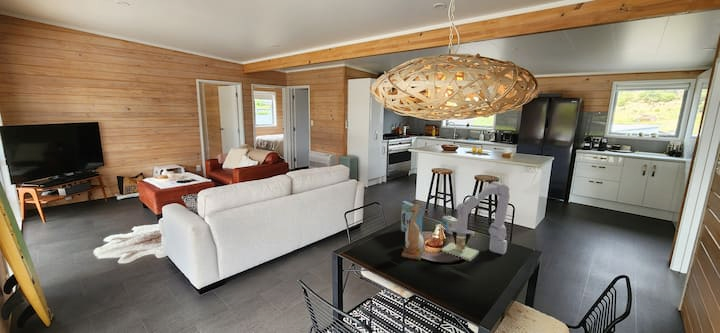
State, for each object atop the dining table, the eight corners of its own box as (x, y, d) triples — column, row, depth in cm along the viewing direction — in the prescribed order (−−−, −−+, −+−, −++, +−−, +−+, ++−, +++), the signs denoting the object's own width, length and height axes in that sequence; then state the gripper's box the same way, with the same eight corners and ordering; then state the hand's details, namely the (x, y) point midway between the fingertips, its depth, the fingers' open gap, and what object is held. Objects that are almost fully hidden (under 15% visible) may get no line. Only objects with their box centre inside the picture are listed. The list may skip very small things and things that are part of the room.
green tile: (478, 253, 181) (479, 251, 180) (470, 261, 170) (470, 258, 170) (450, 244, 192) (451, 242, 192) (440, 251, 182) (441, 249, 182)
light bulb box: (441, 230, 217) (442, 216, 215) (448, 229, 220) (449, 215, 218) (451, 235, 207) (452, 221, 206) (458, 234, 210) (459, 219, 209)
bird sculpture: (403, 249, 182) (405, 199, 177) (422, 251, 180) (425, 200, 174) (401, 257, 172) (404, 204, 166) (422, 260, 169) (425, 206, 164)
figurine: (425, 249, 184) (427, 226, 182) (419, 256, 175) (420, 232, 172) (408, 245, 190) (409, 222, 187) (401, 251, 180) (402, 228, 178)
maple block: (464, 246, 182) (465, 237, 181) (464, 249, 178) (465, 240, 177) (456, 245, 184) (456, 235, 183) (455, 248, 179) (456, 238, 178)
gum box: (421, 241, 196) (423, 208, 192) (414, 242, 194) (416, 209, 191) (406, 231, 214) (407, 200, 210) (400, 232, 212) (401, 201, 208)
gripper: (475, 222, 180) (473, 244, 182) (450, 219, 184) (448, 240, 187) (475, 226, 173) (473, 248, 175) (449, 223, 178) (447, 244, 180)
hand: (460, 244), depth 180 cm, fingers closed on maple block, 5 cm apart
